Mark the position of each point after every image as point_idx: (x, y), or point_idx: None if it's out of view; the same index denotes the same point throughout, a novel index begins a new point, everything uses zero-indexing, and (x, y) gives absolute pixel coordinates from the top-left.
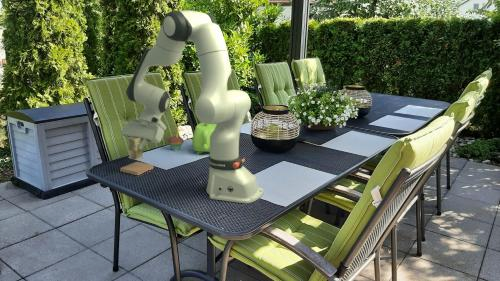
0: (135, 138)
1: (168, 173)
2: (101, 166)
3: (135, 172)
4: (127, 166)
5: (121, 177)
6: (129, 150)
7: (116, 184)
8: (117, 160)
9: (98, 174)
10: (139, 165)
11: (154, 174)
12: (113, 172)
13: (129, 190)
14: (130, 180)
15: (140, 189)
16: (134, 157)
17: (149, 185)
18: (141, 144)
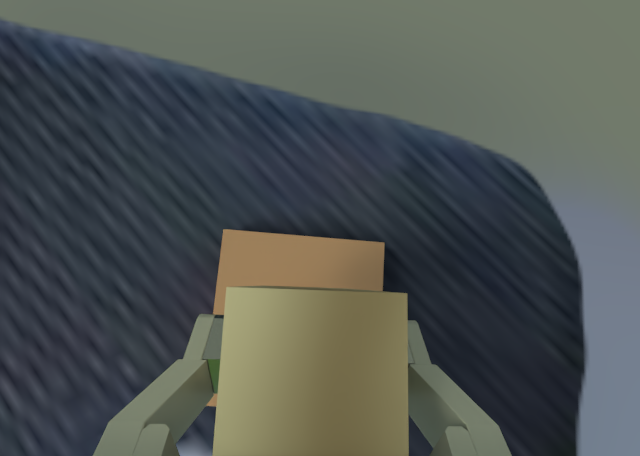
0: (300, 388)
1: (60, 379)
2: (558, 272)
3: (240, 231)
4: (362, 289)
5: (308, 180)
6: (353, 289)
7: (258, 89)
8: (569, 420)
9: (462, 161)
10: None
11: (146, 315)
12: (412, 224)
13: (134, 53)
14: (226, 165)
15: (83, 85)
16: (285, 286)
17: (67, 150)
18: (178, 359)
